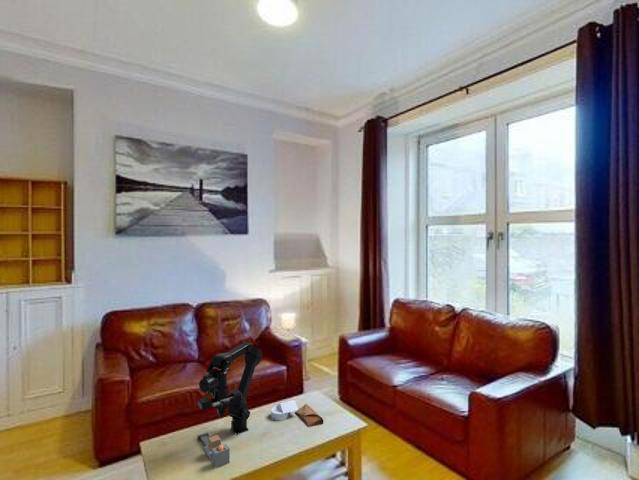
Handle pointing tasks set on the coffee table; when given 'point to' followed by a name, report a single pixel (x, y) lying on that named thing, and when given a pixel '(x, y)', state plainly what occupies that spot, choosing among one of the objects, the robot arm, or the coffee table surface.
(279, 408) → the wedge on round base
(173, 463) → the coffee table surface
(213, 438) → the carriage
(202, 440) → the rail
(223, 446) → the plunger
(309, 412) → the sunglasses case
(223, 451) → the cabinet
